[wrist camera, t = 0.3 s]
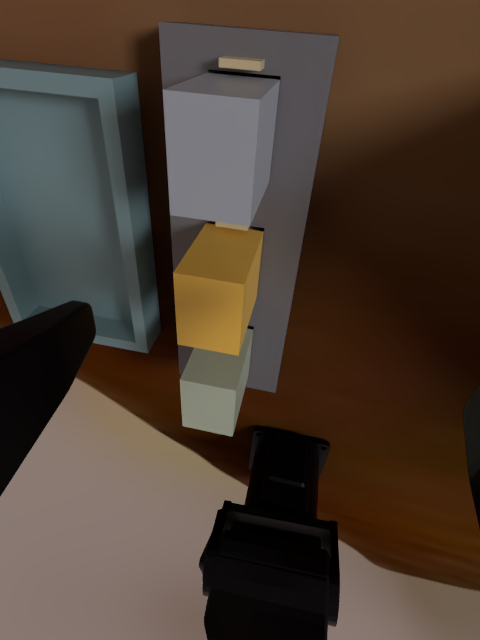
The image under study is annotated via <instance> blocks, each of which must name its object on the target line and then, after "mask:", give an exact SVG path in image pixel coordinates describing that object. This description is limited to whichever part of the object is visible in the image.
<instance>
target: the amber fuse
mask: <svg viewBox="0 0 480 640" xmlns="http://www.w3.org/2000/svg"><path fill="white" fill-rule="evenodd" d="M259 228H260V227H253V226H250V227H249V229H248V231H245V230H238V229H231V228H224V227H218V226H215V224H209V223H206V224H205V226H204V227H203V229H202V230H201V232H200V233H199V235H198V236H197V238H196V239H195V241H194V242H193V244H192V245H191V247H190V248H189V250H188V251H187V253H186V254H185V256H184V257H183V259H182V260H181V262H180V263H179V265H178V266H177V268H176V269H175V271H174V272H173V279H174V296H175V312H176V328H177V344H178V345H184V346H189V347H194V348H200V349H205V350H210V351H215V352H221V353H226V354H231V355H237V356H239V354H240V350H241V347H242V344H243V340H244V337H245V334H246V330H247V327H248V324H249V321H250V317H251V314H252V311H253V307H254V304H255V301H256V297H257V290H258V281H259V271H260V262H261V252H262V243H263V234H264V231H259Z"/></svg>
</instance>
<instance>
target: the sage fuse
mask: <svg viewBox="0 0 480 640" xmlns="http://www.w3.org/2000/svg"><path fill="white" fill-rule="evenodd" d="M252 337H253V329H250V326H248V327H247V330H246V334H245V337H244V340H243V344H242V347H241V350H240V354H239V356H237V355H231V354H226V353H221V352H215V351H210V350H205V349H200V348H194V349H193V351H192V354H191V356H190V358H189V360H188V363H187V365H186V367H185V369H184V372H183V374H182V376H181V378H180V391H181V407H182V424H183V426H185V427H190V428H194V429H199V430H204V431H208V432H213V433H218V434H222V435H227V436H232V437H233V433H234V429H235V425H236V421H237V418H238V414H239V410H240V406H241V402H242V398H243V394H244V390H245V386H246V382H247V379H248V375H249V366H250V356H251V347H252Z"/></svg>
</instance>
